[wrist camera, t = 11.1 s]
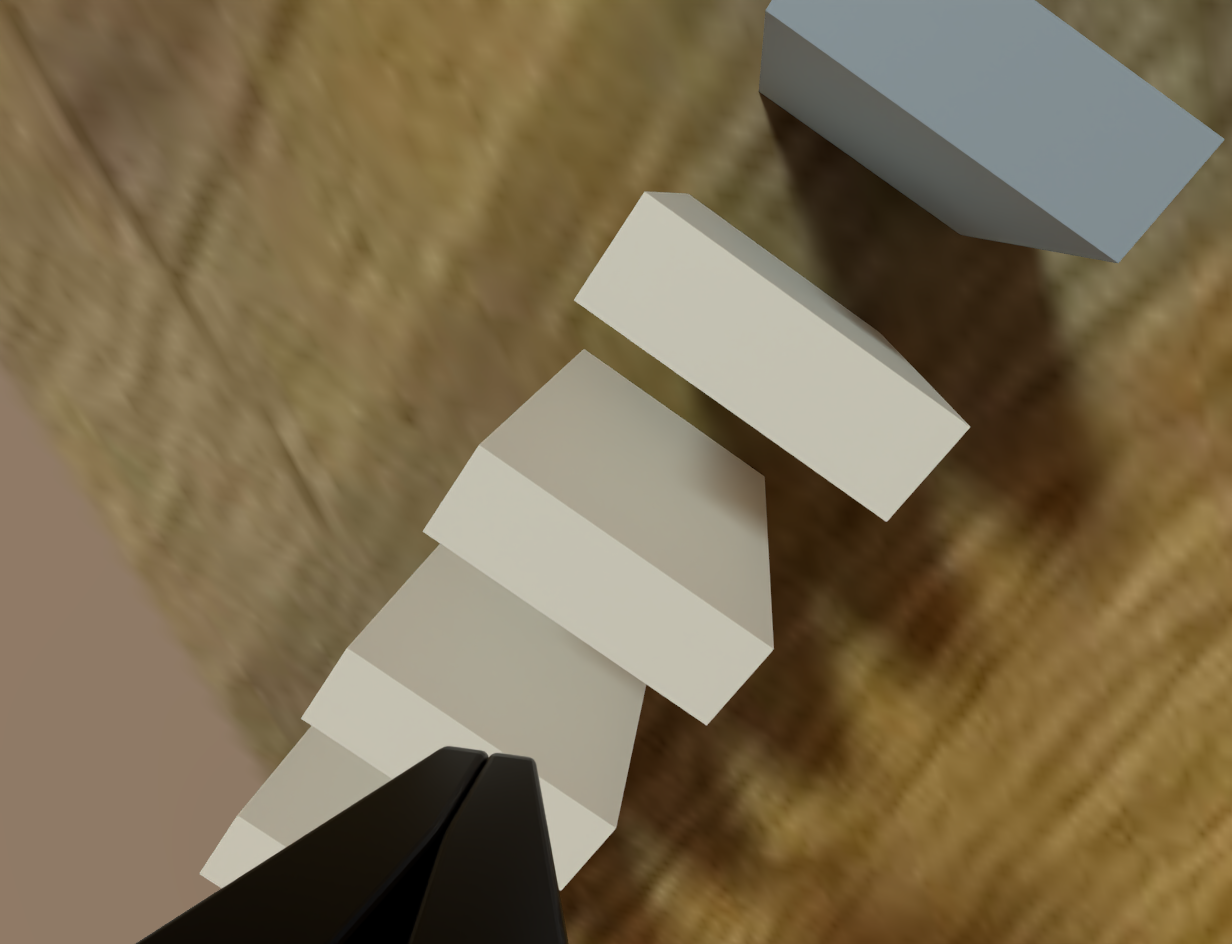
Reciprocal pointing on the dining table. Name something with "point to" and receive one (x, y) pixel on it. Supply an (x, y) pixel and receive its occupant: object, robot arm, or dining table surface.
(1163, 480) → the dining table surface
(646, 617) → the domino
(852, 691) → the dining table surface
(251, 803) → the domino
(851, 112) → the domino
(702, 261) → the domino
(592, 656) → the domino
